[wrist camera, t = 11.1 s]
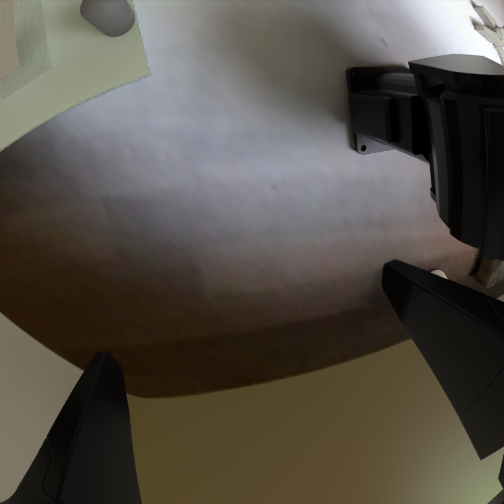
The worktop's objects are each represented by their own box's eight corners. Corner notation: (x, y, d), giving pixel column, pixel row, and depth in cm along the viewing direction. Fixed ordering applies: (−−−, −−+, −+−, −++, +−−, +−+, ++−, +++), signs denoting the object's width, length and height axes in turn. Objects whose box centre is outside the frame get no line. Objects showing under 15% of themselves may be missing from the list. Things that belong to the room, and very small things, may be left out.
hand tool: (481, 270, 34) (499, 287, 30) (468, 277, 33) (488, 294, 30) (511, 156, 24) (536, 169, 20) (500, 155, 23) (528, 168, 19)
